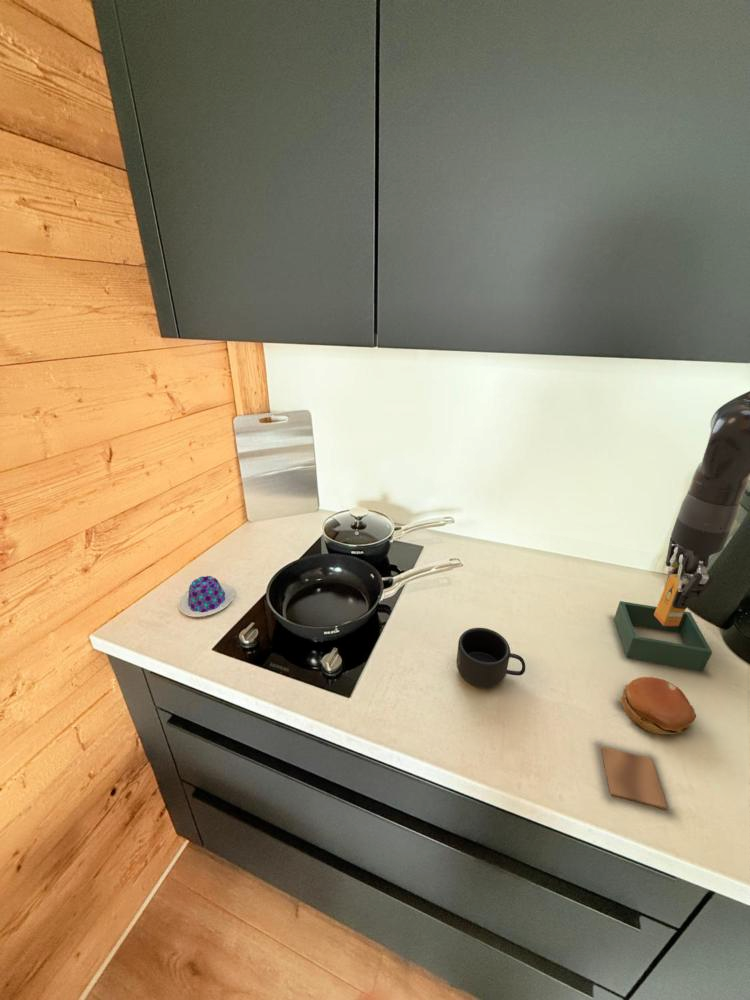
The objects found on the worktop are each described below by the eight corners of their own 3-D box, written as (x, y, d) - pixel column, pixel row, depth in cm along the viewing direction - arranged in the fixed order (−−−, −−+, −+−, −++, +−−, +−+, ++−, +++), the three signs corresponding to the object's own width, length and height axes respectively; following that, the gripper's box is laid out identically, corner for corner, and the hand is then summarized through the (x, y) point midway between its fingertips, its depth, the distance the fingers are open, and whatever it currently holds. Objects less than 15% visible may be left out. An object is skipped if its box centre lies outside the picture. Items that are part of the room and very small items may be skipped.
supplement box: (680, 626, 80) (698, 584, 76) (662, 626, 80) (678, 584, 76) (670, 614, 83) (686, 573, 79) (652, 614, 83) (667, 573, 79)
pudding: (205, 580, 104) (200, 562, 102) (245, 591, 100) (242, 573, 98) (167, 611, 94) (161, 592, 92) (210, 625, 90) (205, 606, 88)
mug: (451, 685, 76) (454, 657, 73) (459, 649, 84) (462, 622, 80) (521, 704, 73) (527, 675, 69) (522, 665, 80) (528, 637, 77)
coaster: (651, 760, 64) (652, 758, 64) (666, 809, 58) (667, 808, 58) (601, 748, 66) (601, 746, 65) (610, 794, 60) (611, 793, 59)
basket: (682, 630, 88) (690, 612, 86) (703, 672, 79) (712, 652, 76) (613, 619, 91) (619, 600, 89) (625, 657, 82) (632, 638, 79)
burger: (616, 717, 70) (624, 698, 68) (625, 680, 77) (632, 662, 75) (687, 752, 65) (698, 732, 63) (690, 709, 72) (700, 690, 70)
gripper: (750, 544, 65) (713, 629, 73) (712, 504, 77) (683, 580, 85) (694, 538, 67) (663, 621, 75) (666, 499, 79) (641, 574, 87)
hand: (674, 599), depth 80 cm, fingers closed on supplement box, 4 cm apart
